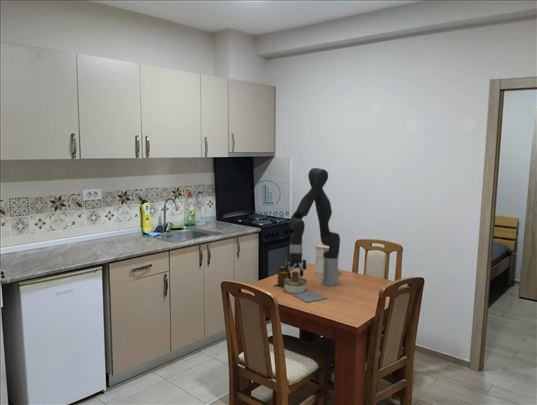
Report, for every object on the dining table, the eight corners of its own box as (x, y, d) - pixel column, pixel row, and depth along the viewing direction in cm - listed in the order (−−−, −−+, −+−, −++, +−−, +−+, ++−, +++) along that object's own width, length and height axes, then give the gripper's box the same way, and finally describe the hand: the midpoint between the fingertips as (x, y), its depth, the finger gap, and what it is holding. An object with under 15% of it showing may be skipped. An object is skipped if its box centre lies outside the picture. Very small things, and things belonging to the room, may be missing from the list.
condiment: (290, 286, 262) (290, 267, 261) (278, 288, 258) (279, 269, 256) (283, 283, 268) (283, 265, 267) (272, 285, 264) (272, 266, 262)
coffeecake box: (338, 274, 289) (339, 246, 287) (333, 277, 284) (334, 248, 281) (319, 270, 298) (320, 243, 296) (314, 272, 293) (315, 245, 291)
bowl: (297, 286, 263) (297, 278, 263) (308, 291, 253) (309, 283, 252) (281, 289, 257) (281, 281, 257) (292, 294, 247) (292, 286, 246)
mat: (312, 291, 253) (312, 290, 253) (327, 299, 241) (327, 297, 241) (293, 295, 246) (293, 294, 246) (306, 303, 234) (306, 301, 234)
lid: (298, 277, 264) (298, 268, 263) (311, 283, 252) (311, 273, 251) (279, 280, 257) (279, 270, 256) (291, 287, 245) (292, 276, 244)
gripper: (302, 248, 259) (301, 274, 261) (282, 251, 252) (281, 277, 254) (309, 251, 252) (308, 277, 254) (289, 253, 245) (288, 281, 247)
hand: (295, 277), depth 254 cm, fingers open, 8 cm apart
